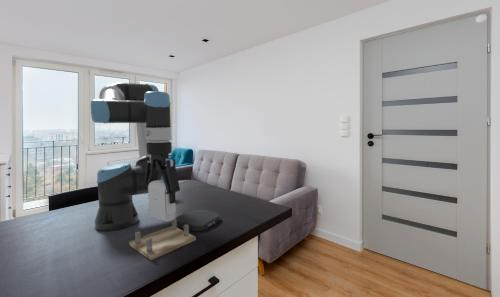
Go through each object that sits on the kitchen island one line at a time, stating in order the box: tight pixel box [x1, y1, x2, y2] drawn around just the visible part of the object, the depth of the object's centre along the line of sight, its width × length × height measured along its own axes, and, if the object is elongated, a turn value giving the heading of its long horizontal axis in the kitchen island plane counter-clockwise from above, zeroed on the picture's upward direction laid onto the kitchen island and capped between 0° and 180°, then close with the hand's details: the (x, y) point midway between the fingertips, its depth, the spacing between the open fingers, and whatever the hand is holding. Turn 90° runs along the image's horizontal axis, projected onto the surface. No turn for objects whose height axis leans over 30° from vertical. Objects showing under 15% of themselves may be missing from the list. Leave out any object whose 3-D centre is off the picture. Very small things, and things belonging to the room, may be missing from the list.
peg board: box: [128, 218, 197, 261], centre depth 80 cm, size 14×16×5 cm
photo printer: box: [147, 180, 176, 222], centre depth 79 cm, size 10×4×12 cm, turn 54°
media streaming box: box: [175, 209, 220, 232], centre depth 97 cm, size 15×15×3 cm
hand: (161, 209), depth 79 cm, fingers closed on photo printer, 10 cm apart
